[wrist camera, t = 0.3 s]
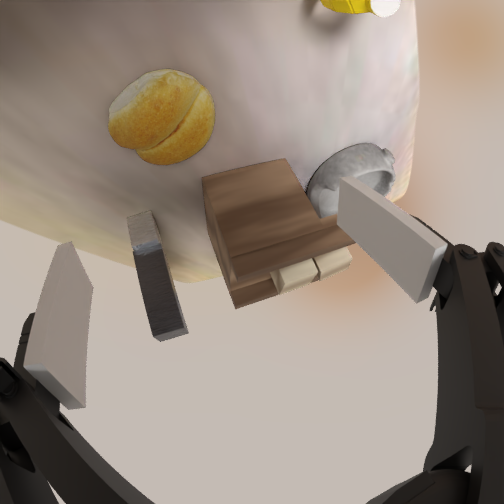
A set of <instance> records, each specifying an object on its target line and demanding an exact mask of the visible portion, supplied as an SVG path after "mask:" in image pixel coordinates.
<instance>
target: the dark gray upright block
mask: <svg viewBox="0 0 504 504" xmlns="http://www.w3.org/2000/svg"><path fill="white" fill-rule="evenodd" d="M127 223H128V228H129V234H130V240H131V245H132V248H133V250H134V251H133V255H134V260H135V265H136V270H137V274H138V279H139V283H140V287H141V292H142V295H143V300H144V304H145V308H146V312H147V316H148V319H149V324H150V327H151V331H152V335H153V337H154V338H156V339H157V340H159V341H160V342H161V341H165V340H168V339H171V338H175V337H178V336H181V335H185V334H188V330H187V326H186V323H185V320H184V317H183V313H182V310H181V307H180V304H179V300H178V297H177V293H176V290H175V286H174V283H173V279H172V276H171V272H170V268H169V265H168V261H167V257H166V254H165V252H164V249H163V245H162V241H161V237H160V233H159V231H158V228H157V226H156V223H155V221H154V218H153V215H152V213H151V210H150V211H147V212H144V213H140V214H137V215H134V216H131V217H128V218H127Z"/></svg>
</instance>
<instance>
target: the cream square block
mask: <svg viewBox="0 0 504 504" xmlns="http://www.w3.org/2000/svg"><path fill="white" fill-rule="evenodd" d="M317 273H318V270H317V268H316V266H315V264H314V262H313V260H312V258H311V259H308V260H305V261H302V262H299V263H296V264H293V265H290V266H287V267H284V268H281V269H278V270H275V271H272V272H270V274H271V277H272V279H273V281H274V284H275V286H276V288H277V291H278V293H279V295H281V294H284V293H287V292H289V291H292V290H295V289H298V288H301V287H303V286H306V285H309V284H310V283H311V281H312V280H313V279H314V277H315V276H316V274H317Z"/></svg>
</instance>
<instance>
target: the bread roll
mask: <svg viewBox="0 0 504 504" xmlns="http://www.w3.org/2000/svg"><path fill="white" fill-rule="evenodd" d="M214 122H215V109H214V102H213V99H212V96H211V95H210V93H209V91H208V90H207V89H206V88H205V87H204V86H202V85H201V84H200V83H199V82H198V81H197V80H196V79H195V78H194V77H192V76H191V75H189V74H186V73H184V72H181V71H178V70H172V69H161V70H156V71H151V72H148V73H146V74H144V75H143V76H141V77H140V78H138V79H137V80H136V81H134V82H132V83H131V84H130V85H129V86H127V88H125V89H124V90H123V91H122V92H121V94H120V95H119V96H117V98H116V99H115V100H114V101H113V103H112V104H111V106H110V109H109V122H108V129H109V133H110V135H111V136H112V138H113V140H114V141H115V142H116V143H117V144H118V145H120V146H121V147H125V148H130V149H135V150H136V152H137V154H138V155H139V156H140V157H141V158H142V159H143V160H144V161H146V162H148V163H152V164H157V165H170V164H174V163H178V162H181V161H183V160H186V159H188V158H189V157H191V156H193V155H194V154H196V153H197V152H198V151H200V150H201V149H202V148H203V147H204V146H205V144H206V143H207V141H208V140H209V138H210V136H211V134H212V131H213V127H214Z"/></svg>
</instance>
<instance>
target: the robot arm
mask: <svg viewBox="0 0 504 504" xmlns="http://www.w3.org/2000/svg"><path fill="white" fill-rule="evenodd" d="M337 225H338V226H339V227H340V228H341V229H342V230H343V231H344V232H345V233H346V234H348V235H349V236H350V237H351V238H352V239H353V240H354V241H355V242H356V243H357V244H358V245H359V246H360V247H361V248H362V249H363V250H364V251H365V252H366V253H367V254H368V255H369V256H370V257H371V258H373V259H374V260H375V261H376V262H377V263H378V264H379V265H380V266H381V267H382V268H383V269H384V270H385V271H386V272H387V273H388V274H389V276H391V277H392V278H393V280H394V281H396V283H397V284H398V285H399V286H400V287H401V288H402V289H403V290H404V291H405V292H406V293H407V294H408V295H409V296H410V297H411V298H412V299H413V300H414V301H415V303H418V302H420V301H422V300H424V299H426V298H428V297H429V294H430V292H431V289H432V287H434V288H435V289H436V290H437V293H436V295H435V297H434V300H433V302H432V304H431V307H430V311H432V310H433V307H434V306H435V305H436V310H435V312H436V315H437V331H438V398H437V413H436V426H435V435H434V441H433V444H432V446H431V448H430V450H429V452H428V454H427V456H426V459H425V463H424V468H423V472H422V473H420V474H418V475H416V476H414V477H412V478H410V479H408V480H406V481H404V482H402V483H400V484H398V485H395V486H394V487H392V488H390V489H389V490H387V491H385V492H384V493H382V494H380V495H378V496H377V497H375V498H373V499H371V500H370V501H368V502H367V503H366V504H504V246H503V245H502V244H499V243H495V242H490V243H489V244H488V245H487V248H486V251H485V252H482V253H478V252H477V251H476V250H475V249H473V248H472V247H470V246H467V245H464V244H458V245H455V246H454V245H452V244H451V243H450V242H449V241H448V240H446V239H445V238H444V237H442V236H441V235H440V234H439V233H437V232H436V231H435V230H433V229H432V228H431V227H429V226H428V225H426V224H425V223H424V222H422V221H421V220H420V219H419V218H417V217H414V216H412V215H410V214H408V213H407V212H405V211H404V210H402V209H401V208H400V207H398V206H397V205H395V204H394V203H392V202H391V201H390V200H388V199H387V198H385V197H384V196H382V195H381V194H379V193H378V192H376V191H375V190H373V189H372V188H370V187H369V186H367V185H366V184H364V183H363V182H361V181H359V180H358V179H356V178H355V177H353V176H348V177H342V178H340V185H339V201H338V214H337ZM499 283H500V285H501V287H502V288H501V290H500V292H499V294H498V295H497V294H496V293H495V290H496V288H497V286H498V284H499ZM92 293H93V286H92V284H91V282H90V280H89V278H88V276H87V274H86V272H85V269H84V267H83V265H82V263H81V261H80V259H79V257H78V255H77V252H76V250H75V248H74V245H73V243H72V241H71V242H67V243H64V244H61V245H58V246H57V249H56V252H55V254H54V257H53V260H52V262H51V265H50V268H49V271H48V274H47V277H46V280H45V283H44V286H43V289H42V292H41V295H40V299H39V302H38V306H37V309H36V312H35V313H31V314H30V315H29V316H28V318H27V319H26V321H25V323H24V325H23V329H22V333H21V337H20V340H19V345H18V348H17V353H16V357H15V362H14V367H12V366H11V365H10V364H9V363H8V362H7V361H6V360H5V359H4V358H0V504H59V503H58V501H57V499H56V497H55V495H54V493H53V492H52V489H51V487H50V485H51V486H52V487H53V489H54V490H55V491H56V492H57V494H58V495H59V496H60V497H61V498H62V500H63V501H64V502H65V503H66V504H154V503H153V502H152V501H151V500H150V499H148V498H147V497H146V496H145V495H143V494H142V493H141V492H140V491H138V490H137V489H136V488H135V487H134V486H132V485H131V484H130V483H129V482H128V481H127V480H126V479H124V478H123V477H122V476H121V475H120V474H119V473H118V472H117V471H116V470H115V469H114V468H112V467H111V466H110V465H109V464H108V463H107V462H106V461H105V460H104V459H103V458H102V457H101V456H100V455H99V454H98V453H97V452H96V451H95V450H94V449H93V447H92V446H91V445H90V444H89V443H88V442H87V441H86V440H85V439H84V438H83V437H82V436H81V434H80V433H79V432H78V431H77V430H76V429H75V428H74V427H73V425H72V424H71V423H70V422H69V421H68V419H67V418H66V417H65V416H64V415H63V414H62V413H61V412H60V411H59V408H60V403H62V404H63V405H64V406H65V407H66V408H67V409H68V410H69V409H78V408H85V407H86V404H85V403H86V397H85V396H86V395H85V394H86V393H85V390H86V388H85V387H86V384H85V383H86V356H87V341H88V329H89V318H90V309H91V301H92ZM471 464H472V467H471V473H468V472H465V470H466V468H467V467H468V466H469V465H471ZM48 482H49V483H50V485H49V483H48Z"/></svg>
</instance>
